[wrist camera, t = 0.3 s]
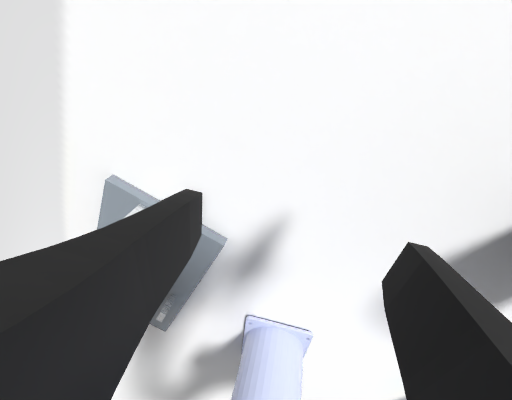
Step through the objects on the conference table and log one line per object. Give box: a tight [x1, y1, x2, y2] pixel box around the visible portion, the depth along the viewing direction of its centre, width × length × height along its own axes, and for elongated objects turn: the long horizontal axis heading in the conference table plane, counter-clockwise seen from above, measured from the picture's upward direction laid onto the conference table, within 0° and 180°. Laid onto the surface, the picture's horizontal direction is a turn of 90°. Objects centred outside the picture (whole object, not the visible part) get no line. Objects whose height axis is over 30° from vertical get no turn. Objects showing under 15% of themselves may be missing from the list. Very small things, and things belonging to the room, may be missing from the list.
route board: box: [97, 175, 227, 332], centre depth 28 cm, size 21×12×1 cm, turn 151°
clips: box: [156, 294, 176, 322], centre depth 27 cm, size 6×9×2 cm, turn 61°
